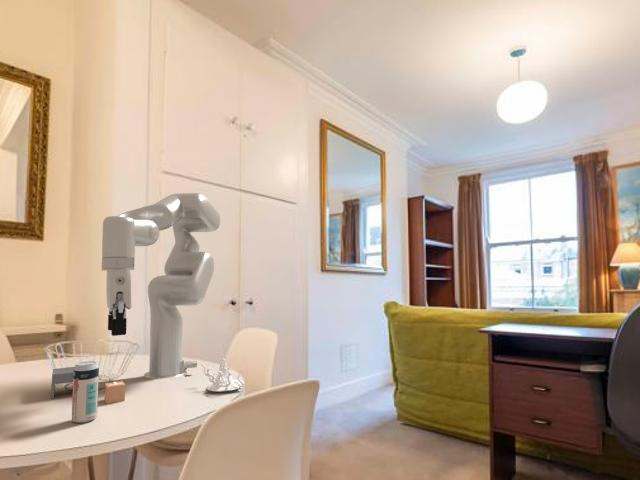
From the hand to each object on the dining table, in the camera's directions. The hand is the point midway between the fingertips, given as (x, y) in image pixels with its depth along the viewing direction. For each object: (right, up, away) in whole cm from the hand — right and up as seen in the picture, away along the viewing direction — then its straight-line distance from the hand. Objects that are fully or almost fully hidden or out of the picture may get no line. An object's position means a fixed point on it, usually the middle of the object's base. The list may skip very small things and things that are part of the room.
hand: (116, 332), depth 102 cm
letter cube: (0, -17, -2) cm, 17 cm away
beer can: (+1, -16, -15) cm, 22 cm away
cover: (-15, -17, +4) cm, 23 cm away
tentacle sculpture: (+24, -18, +10) cm, 32 cm away
